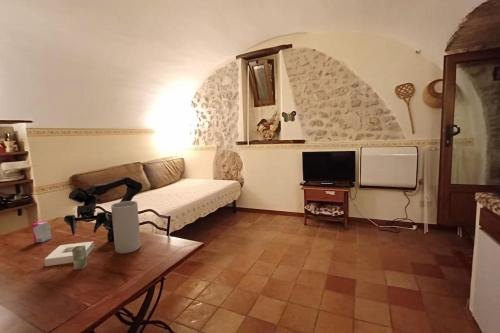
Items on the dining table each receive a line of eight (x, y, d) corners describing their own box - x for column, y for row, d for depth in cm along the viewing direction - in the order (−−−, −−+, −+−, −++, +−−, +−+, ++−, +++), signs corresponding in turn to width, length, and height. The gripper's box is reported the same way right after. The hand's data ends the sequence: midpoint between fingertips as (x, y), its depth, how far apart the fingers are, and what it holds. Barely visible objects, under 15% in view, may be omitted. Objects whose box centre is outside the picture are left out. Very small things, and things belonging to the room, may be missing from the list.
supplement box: (51, 238, 153) (49, 220, 152) (43, 243, 147) (40, 224, 146) (43, 238, 154) (40, 220, 152) (34, 242, 148) (31, 224, 146)
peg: (87, 264, 121) (85, 245, 120) (84, 268, 117) (81, 248, 116) (77, 265, 120) (75, 246, 119) (74, 269, 116) (72, 250, 115)
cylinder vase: (130, 255, 130) (126, 207, 126) (109, 253, 132) (105, 207, 129) (145, 244, 142) (142, 201, 139) (126, 243, 144) (122, 200, 141)
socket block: (94, 247, 140) (93, 241, 139) (83, 261, 124) (82, 254, 124) (60, 251, 136) (59, 245, 135) (45, 266, 120) (44, 259, 120)
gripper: (63, 199, 125) (54, 229, 116) (104, 196, 130) (100, 224, 121) (71, 210, 134) (64, 238, 125) (110, 207, 139) (106, 234, 129)
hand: (83, 233), depth 125 cm, fingers open, 9 cm apart
